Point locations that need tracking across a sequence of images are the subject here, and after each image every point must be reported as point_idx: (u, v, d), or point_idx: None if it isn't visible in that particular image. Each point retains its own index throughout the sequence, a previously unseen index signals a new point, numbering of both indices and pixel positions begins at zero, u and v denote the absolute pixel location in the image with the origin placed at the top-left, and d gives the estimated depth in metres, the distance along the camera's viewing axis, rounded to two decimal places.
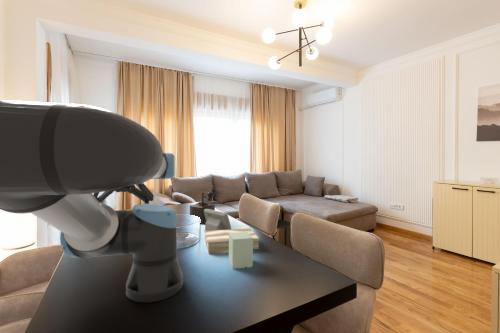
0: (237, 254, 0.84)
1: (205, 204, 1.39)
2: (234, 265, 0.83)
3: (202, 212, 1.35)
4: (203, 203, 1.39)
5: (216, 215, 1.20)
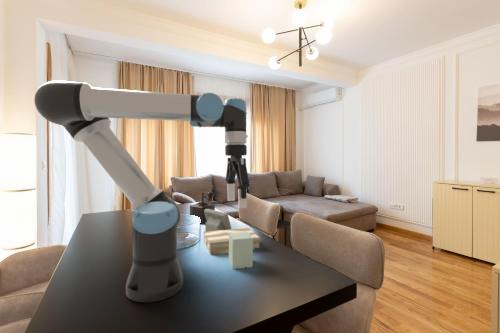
0: (237, 254, 0.84)
1: (205, 204, 1.39)
2: (234, 265, 0.83)
3: (202, 212, 1.35)
4: (203, 203, 1.39)
5: (216, 215, 1.20)
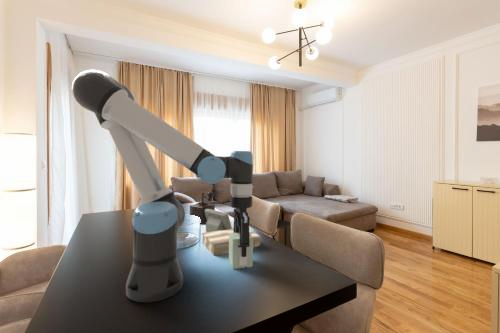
0: (237, 254, 0.84)
1: (205, 204, 1.39)
2: (234, 265, 0.83)
3: (202, 212, 1.35)
4: (203, 203, 1.39)
5: (217, 215, 1.20)
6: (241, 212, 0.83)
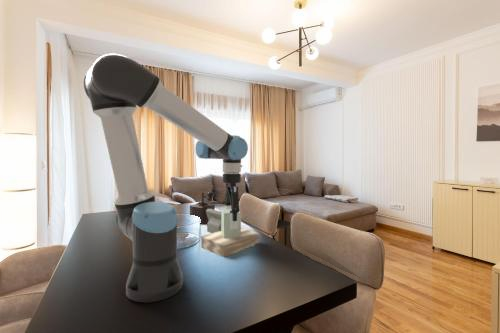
0: (227, 225, 1.01)
1: (205, 204, 1.39)
2: (225, 234, 1.01)
3: (202, 212, 1.35)
4: (203, 203, 1.39)
5: (218, 215, 1.20)
6: (231, 185, 1.00)
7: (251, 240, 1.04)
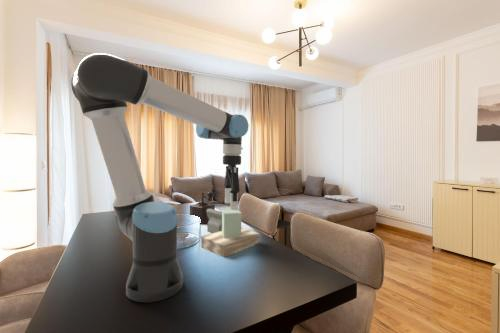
0: (228, 226, 1.01)
1: (205, 204, 1.39)
2: (225, 235, 1.01)
3: (202, 212, 1.35)
4: (203, 203, 1.39)
5: (218, 215, 1.20)
6: (231, 167, 1.00)
7: (251, 241, 1.04)
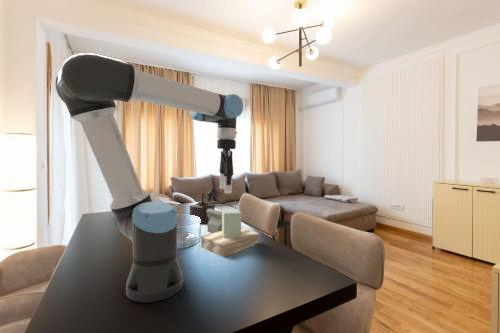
0: (227, 225, 1.01)
1: (205, 204, 1.39)
2: (225, 235, 1.01)
3: (202, 212, 1.35)
4: (203, 203, 1.39)
5: (218, 215, 1.20)
6: (225, 150, 0.99)
7: (251, 240, 1.04)
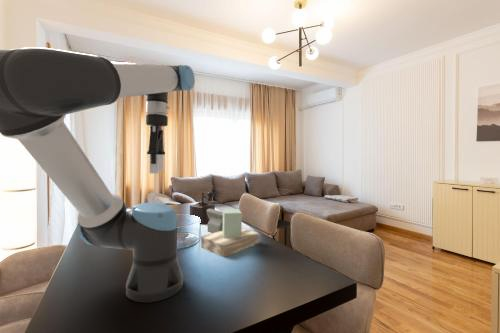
0: (228, 226, 1.01)
1: (205, 204, 1.39)
2: (225, 235, 1.01)
3: (202, 212, 1.35)
4: (203, 203, 1.39)
5: (218, 215, 1.20)
6: None
7: (251, 240, 1.04)
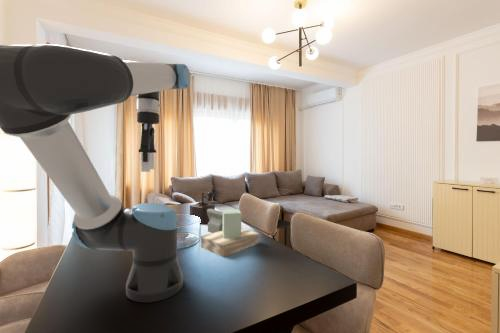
0: (228, 226, 1.00)
1: (205, 204, 1.39)
2: (225, 235, 1.00)
3: (202, 212, 1.35)
4: (203, 203, 1.39)
5: (218, 215, 1.20)
6: None
7: (250, 240, 1.04)
